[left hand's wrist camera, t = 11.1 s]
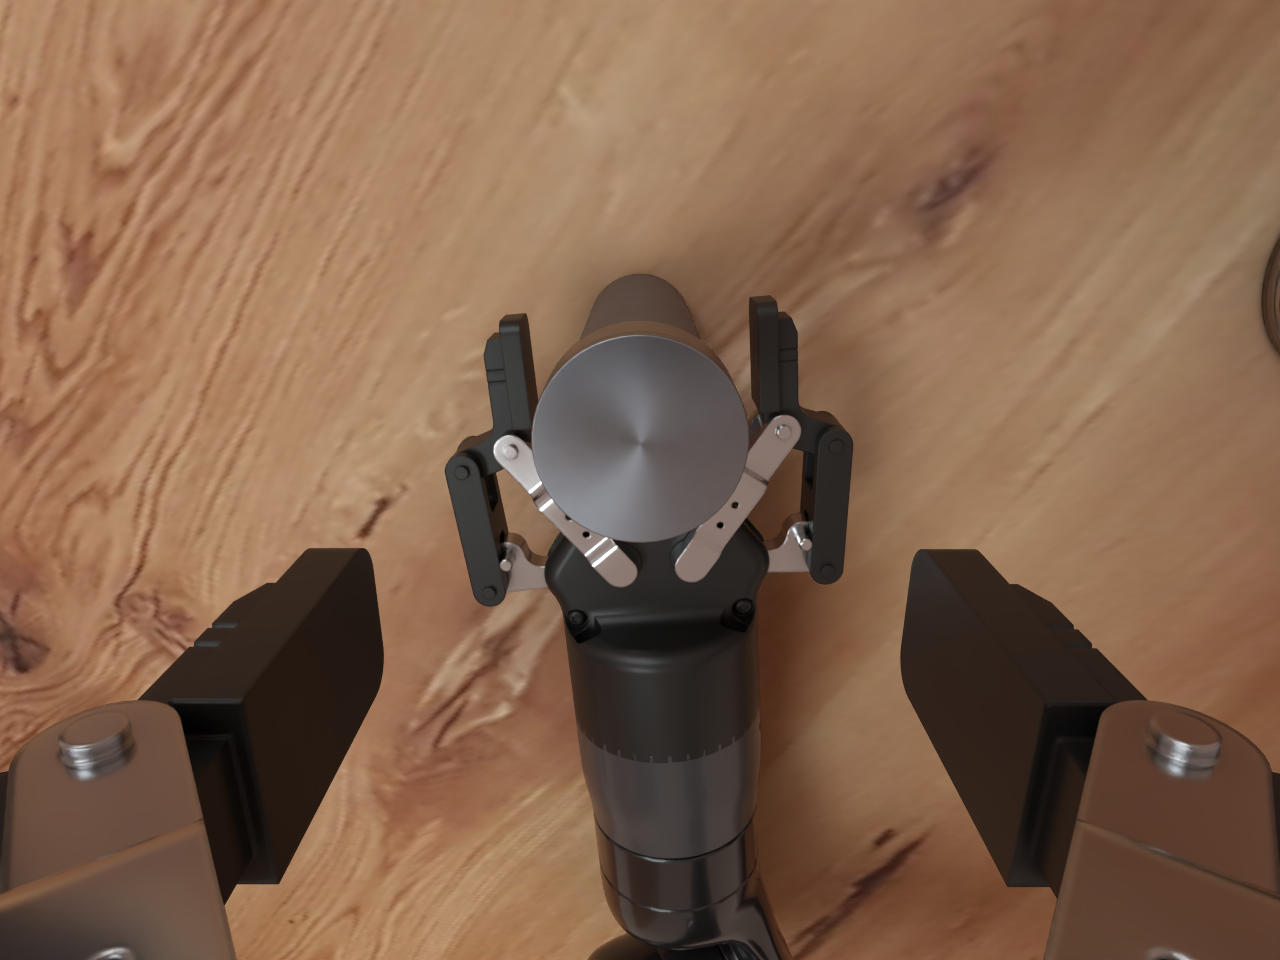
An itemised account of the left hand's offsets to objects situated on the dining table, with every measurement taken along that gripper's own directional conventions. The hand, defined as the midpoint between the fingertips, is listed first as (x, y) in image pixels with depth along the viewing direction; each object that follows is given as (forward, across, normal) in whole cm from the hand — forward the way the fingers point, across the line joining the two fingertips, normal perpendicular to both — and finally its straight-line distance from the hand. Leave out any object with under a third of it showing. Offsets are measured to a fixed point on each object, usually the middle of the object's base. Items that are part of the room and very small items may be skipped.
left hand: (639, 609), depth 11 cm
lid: (+8, 0, 0) cm, 8 cm away
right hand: (+18, 0, -2) cm, 18 cm away
